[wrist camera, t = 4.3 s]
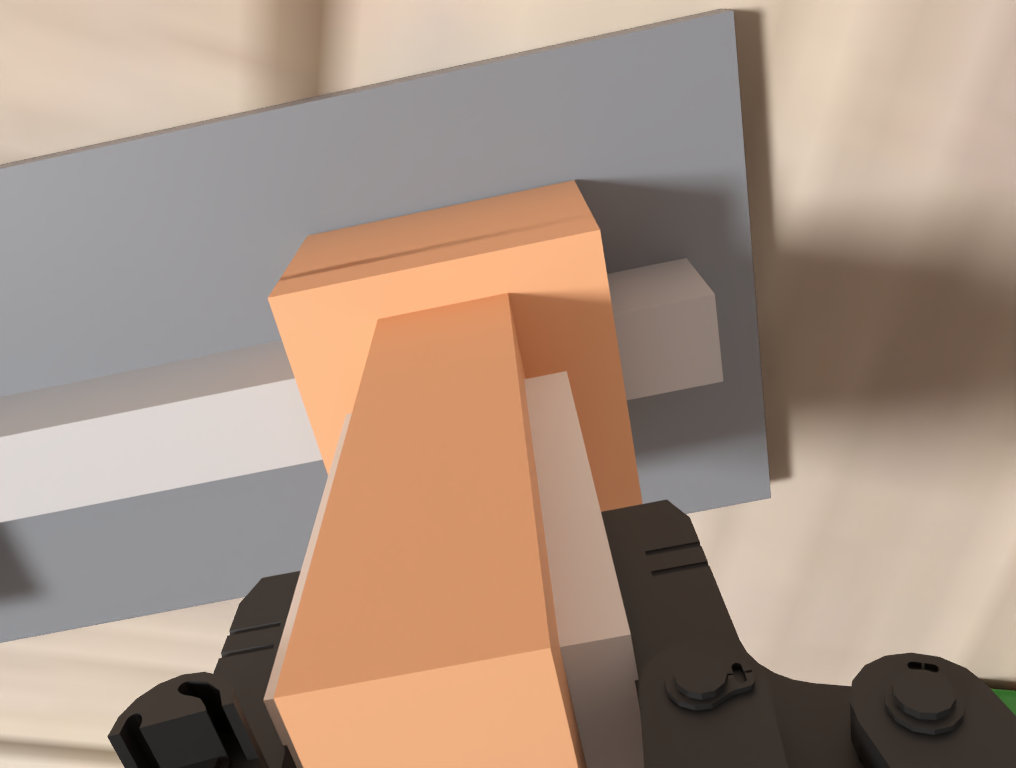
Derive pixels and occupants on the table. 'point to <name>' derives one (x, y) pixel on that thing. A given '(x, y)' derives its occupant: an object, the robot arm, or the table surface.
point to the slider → (444, 479)
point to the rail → (264, 258)
